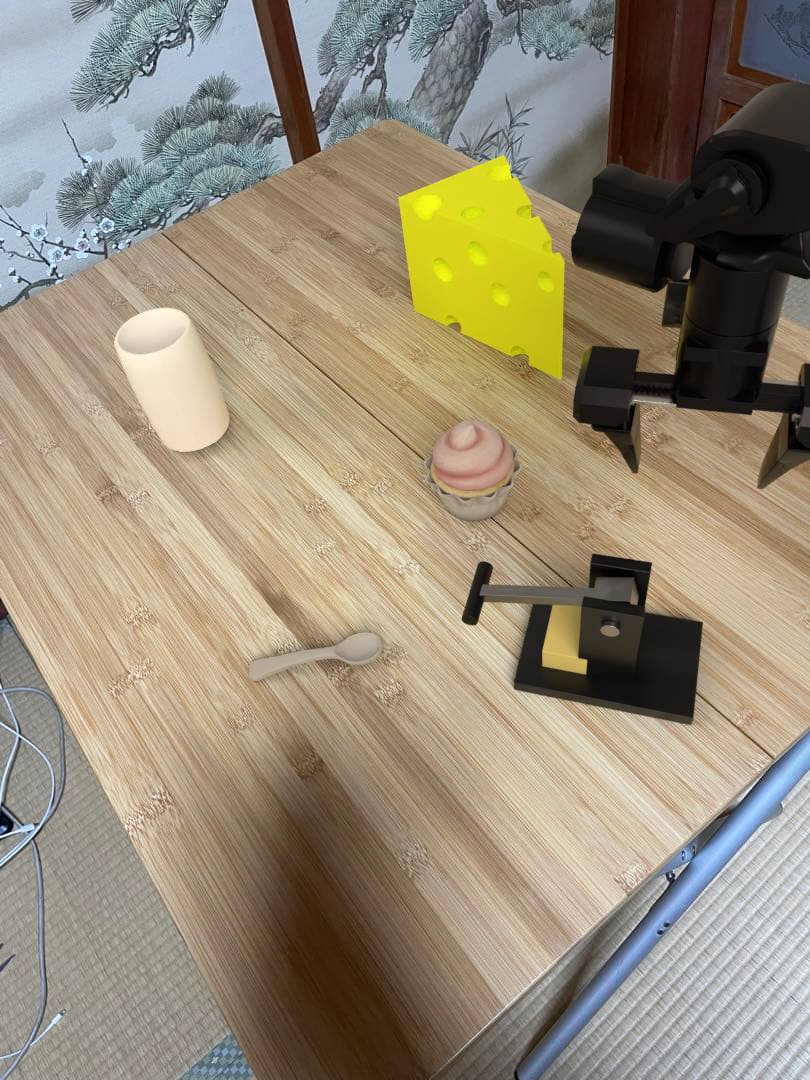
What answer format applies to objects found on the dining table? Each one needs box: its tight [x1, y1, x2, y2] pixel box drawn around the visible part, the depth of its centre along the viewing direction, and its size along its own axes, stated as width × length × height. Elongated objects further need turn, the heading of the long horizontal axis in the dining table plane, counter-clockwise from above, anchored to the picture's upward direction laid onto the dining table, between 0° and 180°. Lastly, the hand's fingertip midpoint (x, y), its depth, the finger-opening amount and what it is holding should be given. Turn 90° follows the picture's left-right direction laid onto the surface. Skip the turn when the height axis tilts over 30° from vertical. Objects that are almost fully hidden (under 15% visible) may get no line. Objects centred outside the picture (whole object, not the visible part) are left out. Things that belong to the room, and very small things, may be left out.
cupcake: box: [423, 419, 524, 522], centre depth 78 cm, size 9×9×10 cm
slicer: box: [513, 553, 704, 726], centre depth 65 cm, size 14×9×11 cm, turn 73°
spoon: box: [248, 631, 385, 682], centre depth 72 cm, size 3×12×2 cm, turn 97°
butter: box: [542, 605, 587, 674], centre depth 68 cm, size 5×4×2 cm
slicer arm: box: [461, 560, 639, 626], centre depth 65 cm, size 13×6×2 cm, turn 73°
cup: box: [113, 307, 230, 453], centre depth 88 cm, size 8×8×14 cm
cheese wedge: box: [397, 154, 566, 381], centre depth 94 cm, size 19×20×15 cm
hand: (696, 476), depth 65 cm, fingers open, 9 cm apart
